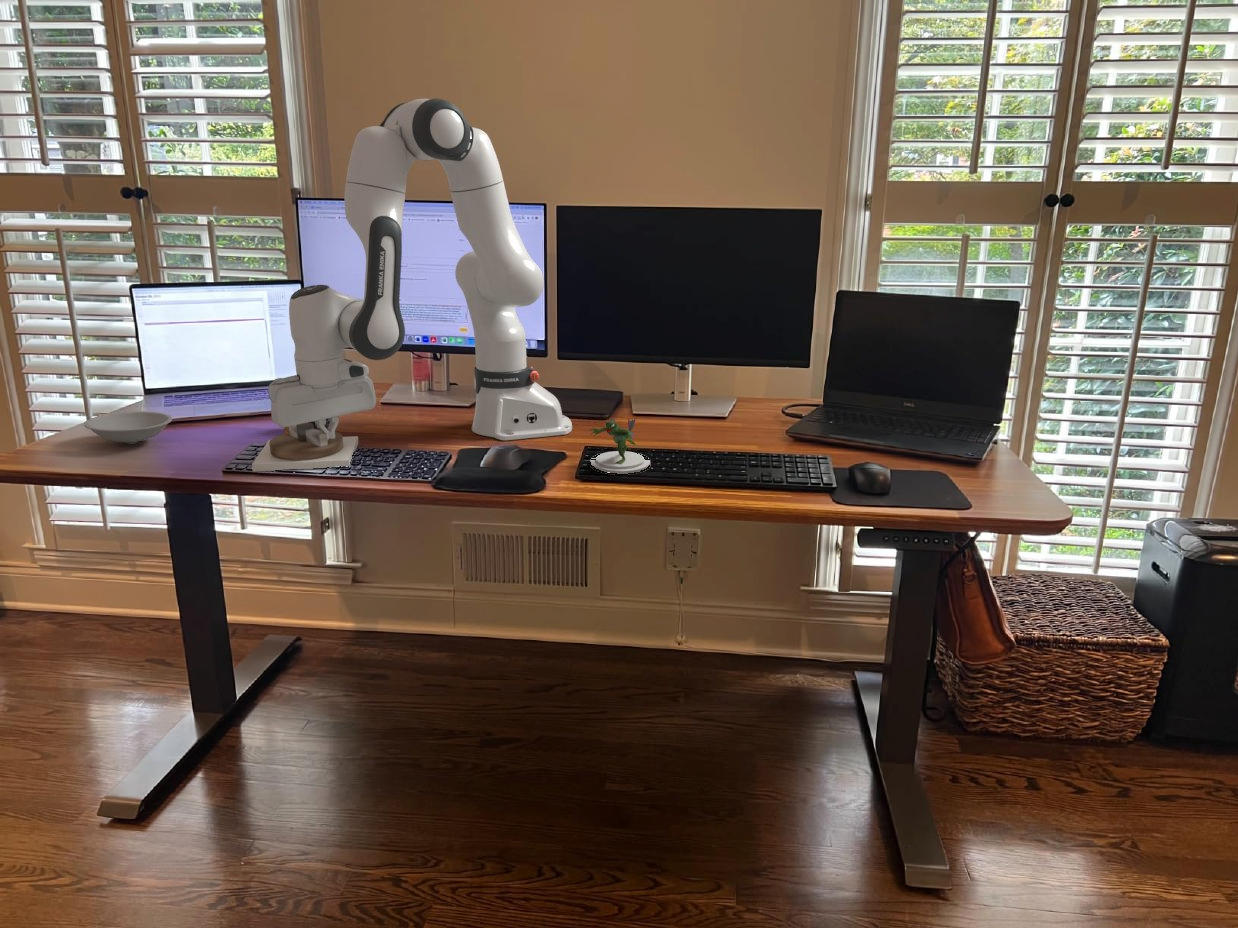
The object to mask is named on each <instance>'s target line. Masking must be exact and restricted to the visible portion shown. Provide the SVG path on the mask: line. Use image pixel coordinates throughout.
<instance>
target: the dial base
mask: <svg viewBox="0 0 1238 928" xmlns="http://www.w3.org/2000/svg"><path fill="white" fill-rule="evenodd" d="M270 440H271V439H268V441H267V442H266V443H265V445H264V447H262V449H261V450H260V452H259V454H258V455H257V456H256V458H255V459H254V461H253V462H252V463H251V468H252V473H255V472H256V473H257V472H258V473H259V472H276V471H275V470H282V471H284V470H283V469H304V470H314V469H313V468H326V467H334V466H349V465H350V466H351V464H350V462H351V459H352V455H353V452H354V450H355V449H356V450H357V448H358V445H359V436H343V448H342V449H341V450H340V451H339V452H337V453H334V454H332V455H329V456H325V457H320V458H314V459H305V460H288V459H281V458H277V457H274V456H273V455H271V452H270V445H269V442H270ZM352 460H353V459H352ZM351 463H352V462H351Z"/></svg>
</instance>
